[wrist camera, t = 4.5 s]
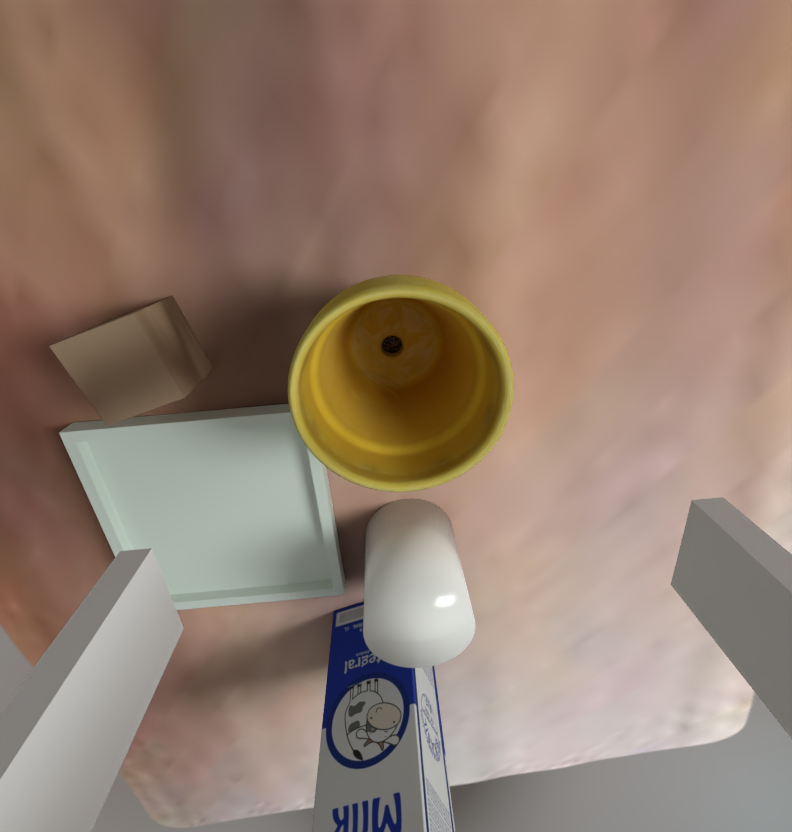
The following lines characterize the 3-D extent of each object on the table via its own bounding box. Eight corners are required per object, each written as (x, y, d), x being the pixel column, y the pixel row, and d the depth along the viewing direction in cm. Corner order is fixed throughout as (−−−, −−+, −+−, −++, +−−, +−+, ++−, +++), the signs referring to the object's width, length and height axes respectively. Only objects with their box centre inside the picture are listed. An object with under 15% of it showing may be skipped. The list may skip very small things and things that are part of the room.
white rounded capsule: (361, 502, 34) (357, 595, 26) (451, 494, 34) (475, 584, 26) (370, 571, 37) (369, 672, 29) (453, 563, 37) (475, 662, 29)
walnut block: (101, 323, 28) (48, 346, 23) (172, 295, 27) (133, 313, 23) (147, 392, 30) (106, 426, 25) (214, 368, 29) (184, 397, 25)
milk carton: (361, 658, 42) (350, 1000, 24) (331, 611, 39) (294, 958, 21) (432, 637, 41) (477, 975, 23) (407, 587, 38) (436, 928, 20)
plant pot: (366, 437, 32) (363, 526, 23) (281, 312, 28) (237, 362, 19) (498, 368, 30) (549, 436, 21) (427, 223, 26) (454, 233, 17)
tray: (72, 422, 30) (58, 432, 29) (315, 401, 31) (312, 410, 29) (149, 598, 38) (140, 613, 36) (345, 580, 38) (344, 594, 36)
